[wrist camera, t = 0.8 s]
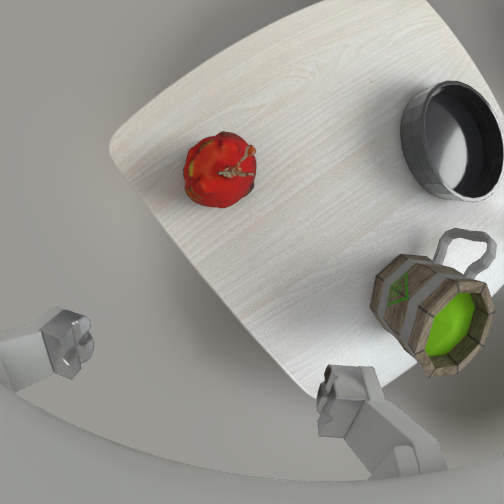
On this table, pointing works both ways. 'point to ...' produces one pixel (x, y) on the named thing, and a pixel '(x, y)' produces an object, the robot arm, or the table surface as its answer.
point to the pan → (453, 142)
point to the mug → (437, 305)
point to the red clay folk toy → (220, 170)
